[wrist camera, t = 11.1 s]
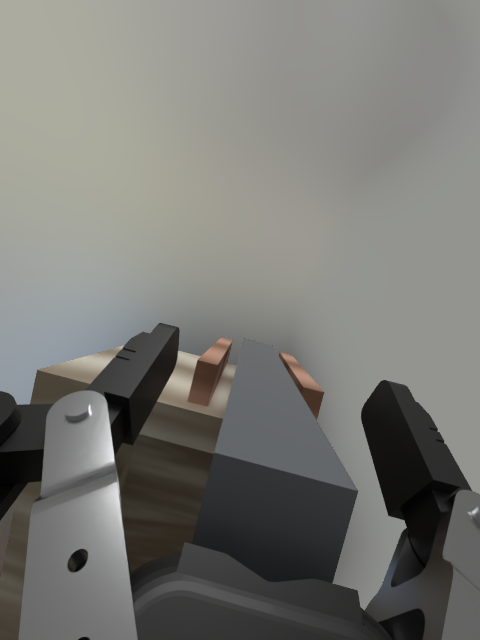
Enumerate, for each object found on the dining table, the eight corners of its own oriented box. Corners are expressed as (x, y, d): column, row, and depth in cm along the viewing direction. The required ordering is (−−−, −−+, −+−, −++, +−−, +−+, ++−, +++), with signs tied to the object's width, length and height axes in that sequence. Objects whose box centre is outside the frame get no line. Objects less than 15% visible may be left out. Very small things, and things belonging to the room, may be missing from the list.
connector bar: (320, 626, 5) (358, 490, 5) (181, 586, 5) (213, 452, 5) (265, 373, 26) (272, 345, 26) (236, 366, 26) (243, 338, 26)
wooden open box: (184, 957, 15) (335, 400, 13) (-68, 872, 16) (46, 325, 14) (215, 657, 28) (293, 355, 26) (77, 617, 29) (145, 318, 27)
